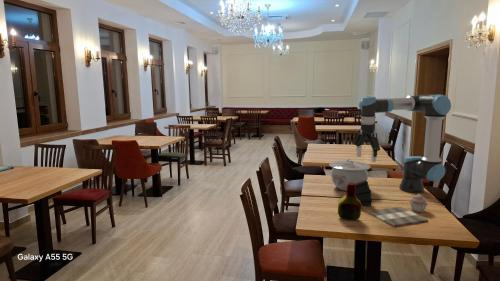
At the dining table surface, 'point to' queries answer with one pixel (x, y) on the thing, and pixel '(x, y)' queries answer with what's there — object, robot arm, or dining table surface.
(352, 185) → the bottle
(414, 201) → the cupcake
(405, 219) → the checkered cloth napkin
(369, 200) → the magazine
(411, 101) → the robot arm
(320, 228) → the dining table surface
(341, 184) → the chamber pot
